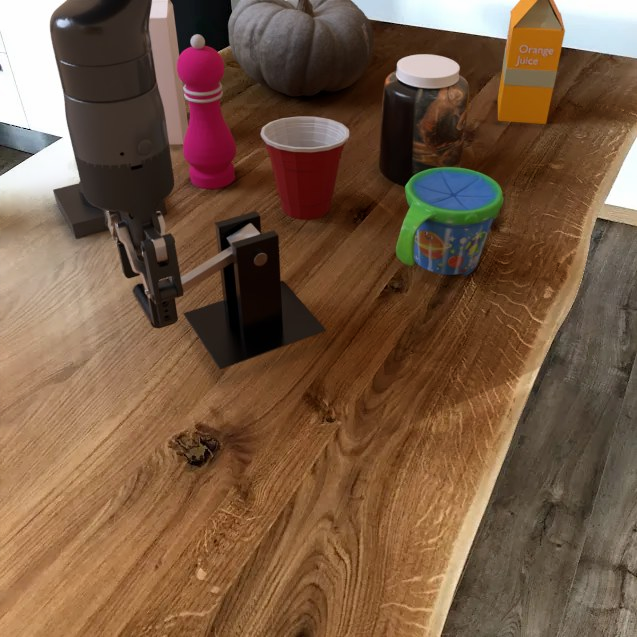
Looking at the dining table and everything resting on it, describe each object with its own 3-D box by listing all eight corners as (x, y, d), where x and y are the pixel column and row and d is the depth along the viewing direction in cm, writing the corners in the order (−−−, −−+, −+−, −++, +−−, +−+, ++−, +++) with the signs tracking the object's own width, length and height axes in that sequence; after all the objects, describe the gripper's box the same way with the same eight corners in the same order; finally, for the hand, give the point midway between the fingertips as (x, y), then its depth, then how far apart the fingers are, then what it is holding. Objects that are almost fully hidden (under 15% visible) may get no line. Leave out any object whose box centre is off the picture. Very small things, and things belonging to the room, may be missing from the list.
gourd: (195, 69, 128) (204, -37, 118) (291, 55, 145) (306, -39, 135) (298, 124, 117) (319, 12, 106) (389, 102, 133) (414, 3, 123)
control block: (75, 239, 91) (68, 211, 89) (56, 203, 98) (49, 177, 96) (167, 214, 96) (162, 187, 93) (142, 182, 103) (137, 156, 100)
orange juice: (543, 102, 123) (568, -25, 110) (546, 124, 116) (574, -8, 104) (496, 99, 124) (515, -28, 111) (496, 120, 117) (517, -11, 105)
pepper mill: (225, 195, 100) (210, 47, 87) (178, 186, 102) (156, 41, 89) (246, 170, 105) (235, 28, 92) (201, 163, 107) (184, 22, 94)
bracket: (221, 378, 72) (207, 273, 64) (184, 322, 79) (168, 220, 71) (326, 339, 77) (326, 236, 68) (283, 289, 83) (279, 190, 75)
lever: (157, 334, 68) (145, 317, 66) (138, 302, 72) (127, 286, 70) (276, 259, 70) (268, 241, 68) (251, 232, 74) (243, 214, 72)
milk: (151, 129, 116) (126, -20, 102) (189, 128, 116) (170, -20, 102) (144, 146, 111) (118, -7, 97) (184, 145, 111) (163, -8, 98)
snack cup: (460, 223, 94) (470, 151, 87) (523, 261, 87) (539, 186, 81) (365, 265, 87) (369, 189, 80) (426, 310, 80) (434, 231, 74)
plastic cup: (355, 198, 99) (357, 114, 91) (338, 241, 91) (340, 153, 83) (277, 189, 101) (274, 106, 93) (255, 231, 93) (248, 143, 85)
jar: (365, 178, 103) (369, 73, 94) (395, 144, 111) (401, 44, 102) (445, 196, 99) (458, 88, 90) (470, 159, 107) (484, 57, 98)
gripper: (51, 115, 62) (89, 270, 72) (99, 190, 52) (135, 356, 63) (137, 98, 65) (162, 249, 75) (197, 165, 55) (216, 328, 65)
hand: (150, 298), depth 69 cm, fingers open, 8 cm apart
